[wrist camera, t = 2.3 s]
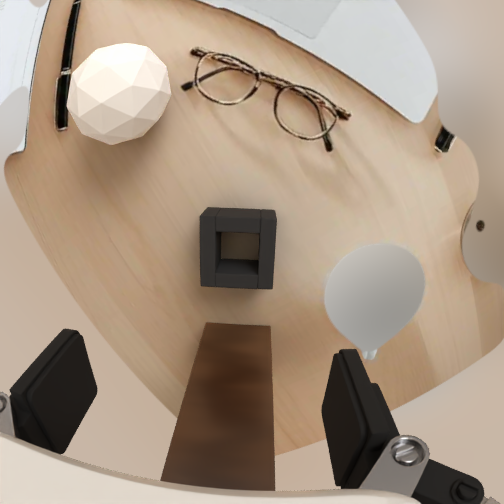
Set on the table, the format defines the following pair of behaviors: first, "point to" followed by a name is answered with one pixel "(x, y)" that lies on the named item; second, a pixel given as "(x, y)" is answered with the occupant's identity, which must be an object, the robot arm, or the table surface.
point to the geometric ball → (118, 93)
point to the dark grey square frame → (237, 270)
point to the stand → (227, 413)
